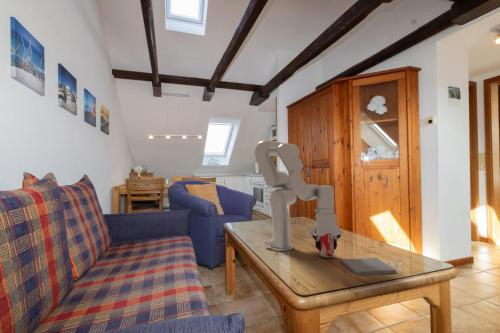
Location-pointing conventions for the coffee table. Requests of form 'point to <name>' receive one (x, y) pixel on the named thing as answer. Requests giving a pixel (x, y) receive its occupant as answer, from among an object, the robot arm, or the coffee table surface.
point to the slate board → (367, 266)
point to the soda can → (326, 245)
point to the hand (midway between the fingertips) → (326, 248)
